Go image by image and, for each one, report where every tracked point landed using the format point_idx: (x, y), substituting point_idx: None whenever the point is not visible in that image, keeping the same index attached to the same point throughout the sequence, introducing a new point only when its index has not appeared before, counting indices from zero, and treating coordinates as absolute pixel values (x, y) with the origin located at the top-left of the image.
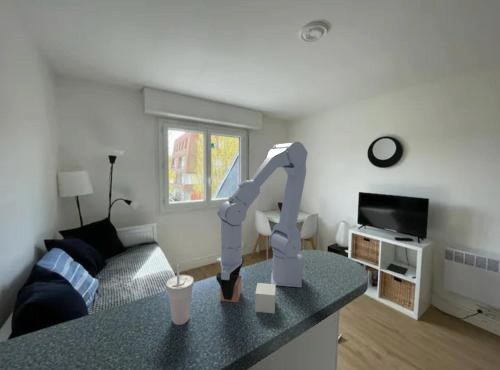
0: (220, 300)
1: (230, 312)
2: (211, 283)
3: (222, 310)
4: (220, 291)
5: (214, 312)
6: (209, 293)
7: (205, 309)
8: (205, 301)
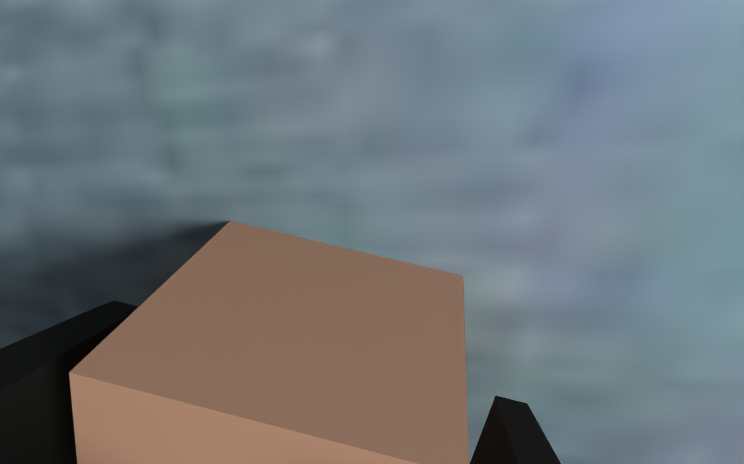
0: (231, 222)
1: (53, 320)
2: (720, 51)
3: (63, 246)
4: (165, 284)
5: (11, 161)
6: (391, 51)
7: (32, 40)
8: (189, 13)
